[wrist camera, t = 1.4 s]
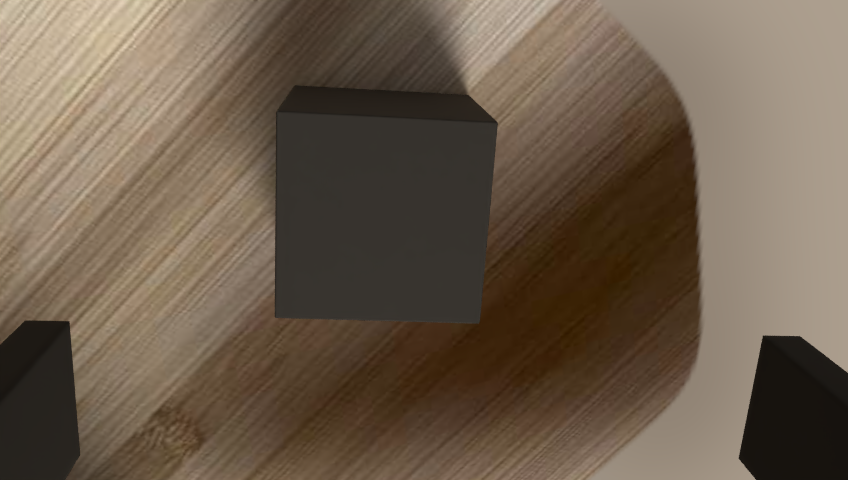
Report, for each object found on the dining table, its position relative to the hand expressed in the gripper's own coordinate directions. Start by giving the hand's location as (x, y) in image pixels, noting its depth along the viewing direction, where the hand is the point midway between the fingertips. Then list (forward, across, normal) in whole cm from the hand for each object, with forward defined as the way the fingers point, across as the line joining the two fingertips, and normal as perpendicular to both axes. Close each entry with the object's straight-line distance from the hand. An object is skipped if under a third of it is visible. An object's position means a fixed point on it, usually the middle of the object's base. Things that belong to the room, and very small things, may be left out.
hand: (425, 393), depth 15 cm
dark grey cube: (+14, -1, +1) cm, 14 cm away
